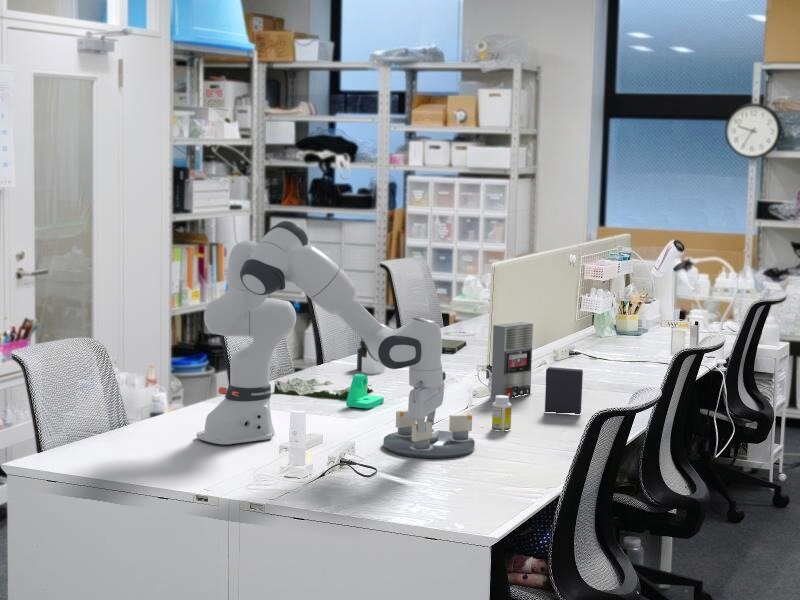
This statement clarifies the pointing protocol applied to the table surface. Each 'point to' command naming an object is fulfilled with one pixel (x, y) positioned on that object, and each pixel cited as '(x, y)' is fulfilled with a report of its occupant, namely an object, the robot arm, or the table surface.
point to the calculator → (563, 390)
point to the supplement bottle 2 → (501, 413)
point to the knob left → (422, 436)
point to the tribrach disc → (439, 446)
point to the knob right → (460, 426)
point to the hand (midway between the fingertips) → (426, 429)
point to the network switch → (452, 346)
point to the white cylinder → (372, 366)
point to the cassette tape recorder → (511, 359)
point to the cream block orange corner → (404, 423)
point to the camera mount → (361, 394)
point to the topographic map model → (310, 389)
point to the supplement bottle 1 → (361, 355)
